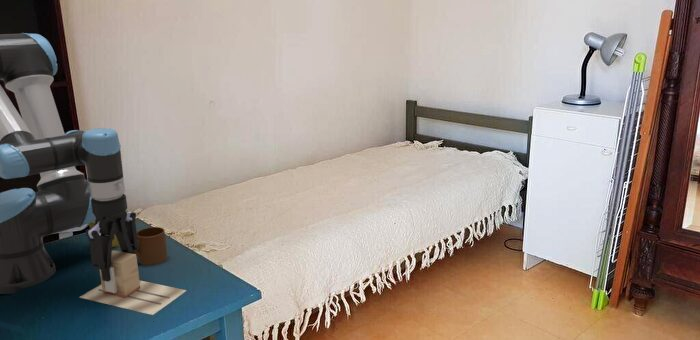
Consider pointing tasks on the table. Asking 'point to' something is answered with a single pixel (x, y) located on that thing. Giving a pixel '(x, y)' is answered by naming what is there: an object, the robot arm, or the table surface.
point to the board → (138, 297)
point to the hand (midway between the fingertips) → (120, 285)
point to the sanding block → (124, 274)
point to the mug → (151, 246)
